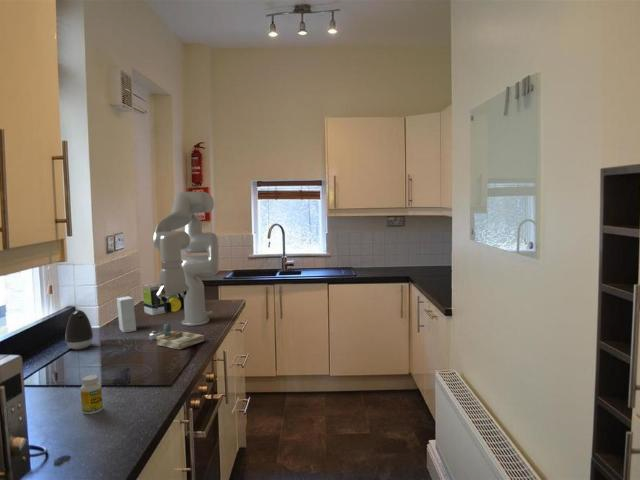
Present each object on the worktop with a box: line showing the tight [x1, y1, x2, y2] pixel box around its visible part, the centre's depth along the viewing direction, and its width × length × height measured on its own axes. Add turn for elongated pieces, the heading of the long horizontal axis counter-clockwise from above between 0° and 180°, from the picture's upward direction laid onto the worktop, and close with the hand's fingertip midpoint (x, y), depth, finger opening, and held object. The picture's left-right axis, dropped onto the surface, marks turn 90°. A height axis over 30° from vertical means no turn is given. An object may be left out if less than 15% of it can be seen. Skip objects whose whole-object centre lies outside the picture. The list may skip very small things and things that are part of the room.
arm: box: [156, 323, 205, 350], centre depth 205 cm, size 19×13×7 cm
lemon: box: [169, 298, 181, 313], centre depth 199 cm, size 7×5×5 cm
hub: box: [148, 329, 162, 341], centre depth 212 cm, size 5×5×3 cm
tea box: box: [142, 282, 178, 316], centre depth 262 cm, size 15×10×15 cm
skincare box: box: [116, 295, 137, 333], centre depth 227 cm, size 8×6×15 cm
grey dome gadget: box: [64, 309, 94, 350], centre depth 202 cm, size 10×10×15 cm
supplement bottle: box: [79, 374, 104, 415], centre depth 141 cm, size 5×5×10 cm
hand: (174, 309), depth 199 cm, fingers closed on lemon, 5 cm apart
